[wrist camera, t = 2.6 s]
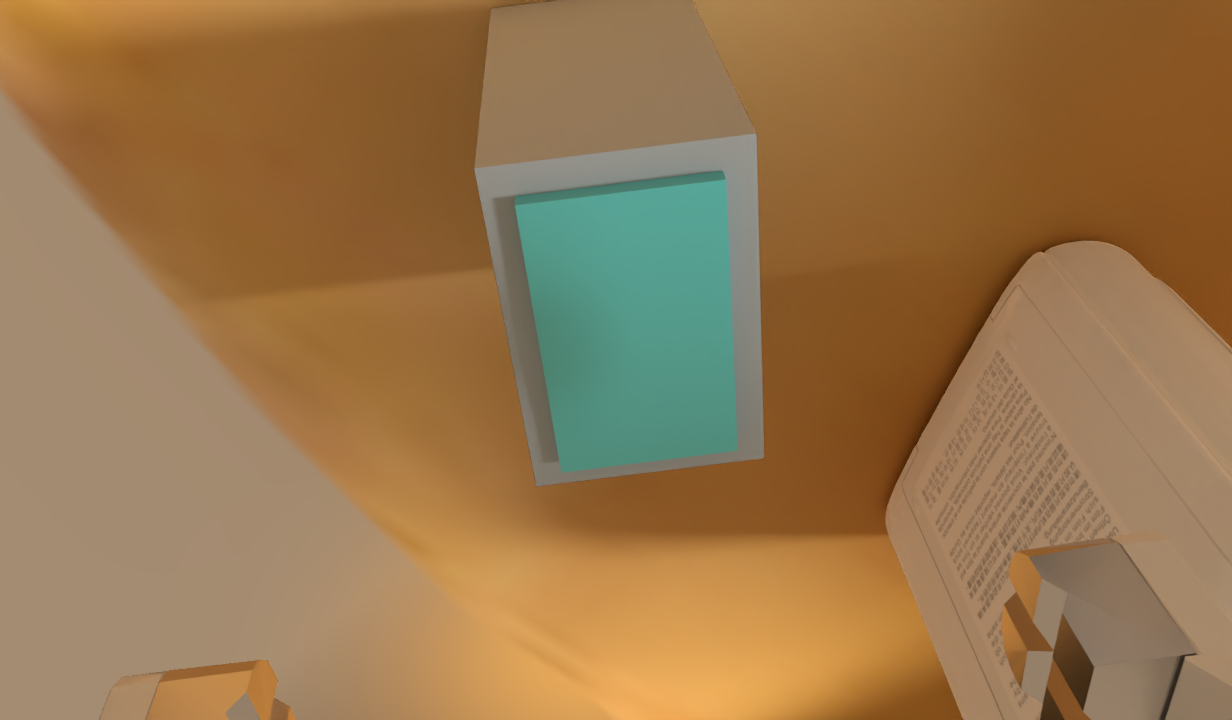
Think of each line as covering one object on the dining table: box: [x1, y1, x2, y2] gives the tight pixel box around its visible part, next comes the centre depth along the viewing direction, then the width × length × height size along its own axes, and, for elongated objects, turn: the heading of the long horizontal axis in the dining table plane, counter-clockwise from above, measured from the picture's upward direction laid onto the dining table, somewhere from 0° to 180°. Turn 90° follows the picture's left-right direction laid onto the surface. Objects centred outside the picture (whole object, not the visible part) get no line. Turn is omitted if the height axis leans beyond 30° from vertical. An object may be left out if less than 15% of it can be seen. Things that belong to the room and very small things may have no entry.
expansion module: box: [474, 0, 764, 487], centre depth 19 cm, size 4×6×8 cm, turn 6°
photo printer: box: [886, 240, 1232, 720], centre depth 23 cm, size 10×4×12 cm, turn 165°
